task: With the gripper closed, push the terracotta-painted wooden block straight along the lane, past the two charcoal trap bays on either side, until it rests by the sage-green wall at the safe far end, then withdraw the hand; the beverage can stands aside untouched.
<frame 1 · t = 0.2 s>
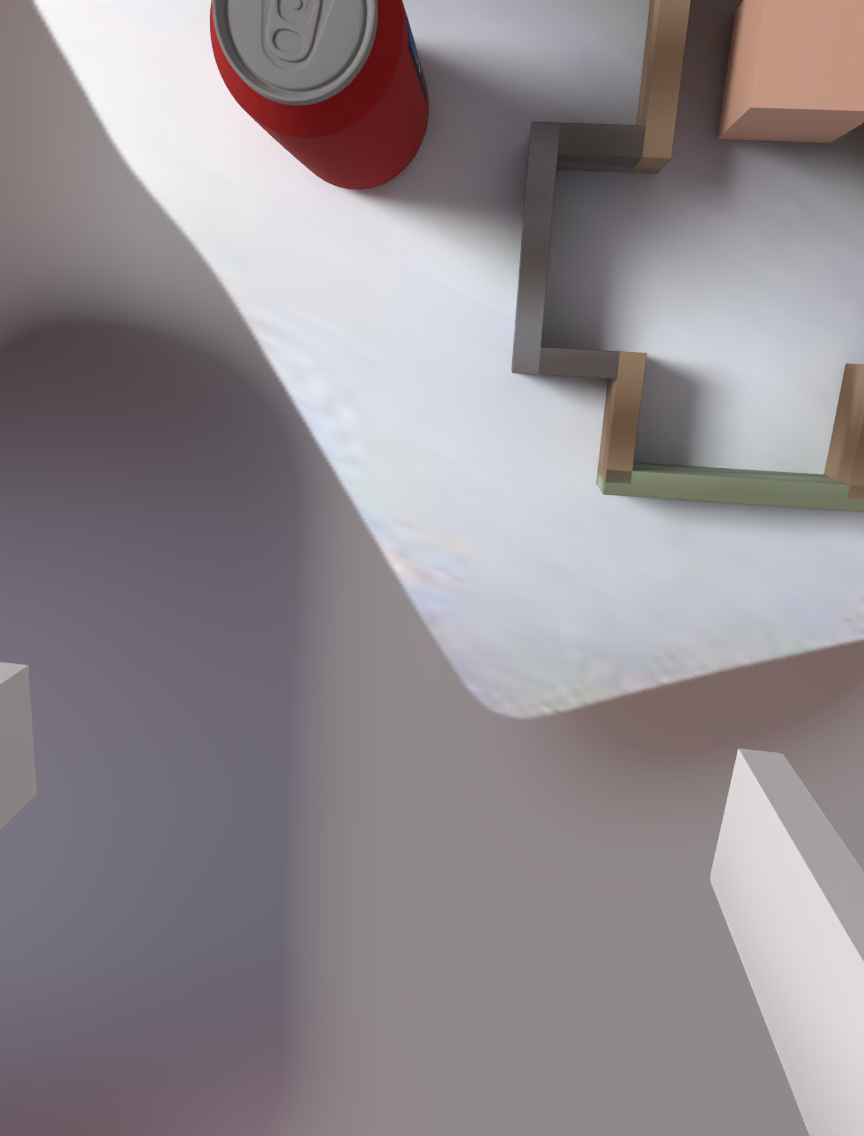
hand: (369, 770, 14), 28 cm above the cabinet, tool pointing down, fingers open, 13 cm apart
block: (782, 79, 34), on the cabinet
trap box: (757, 247, 36), on the cabinet
beverage can: (360, 115, 36), on the cabinet
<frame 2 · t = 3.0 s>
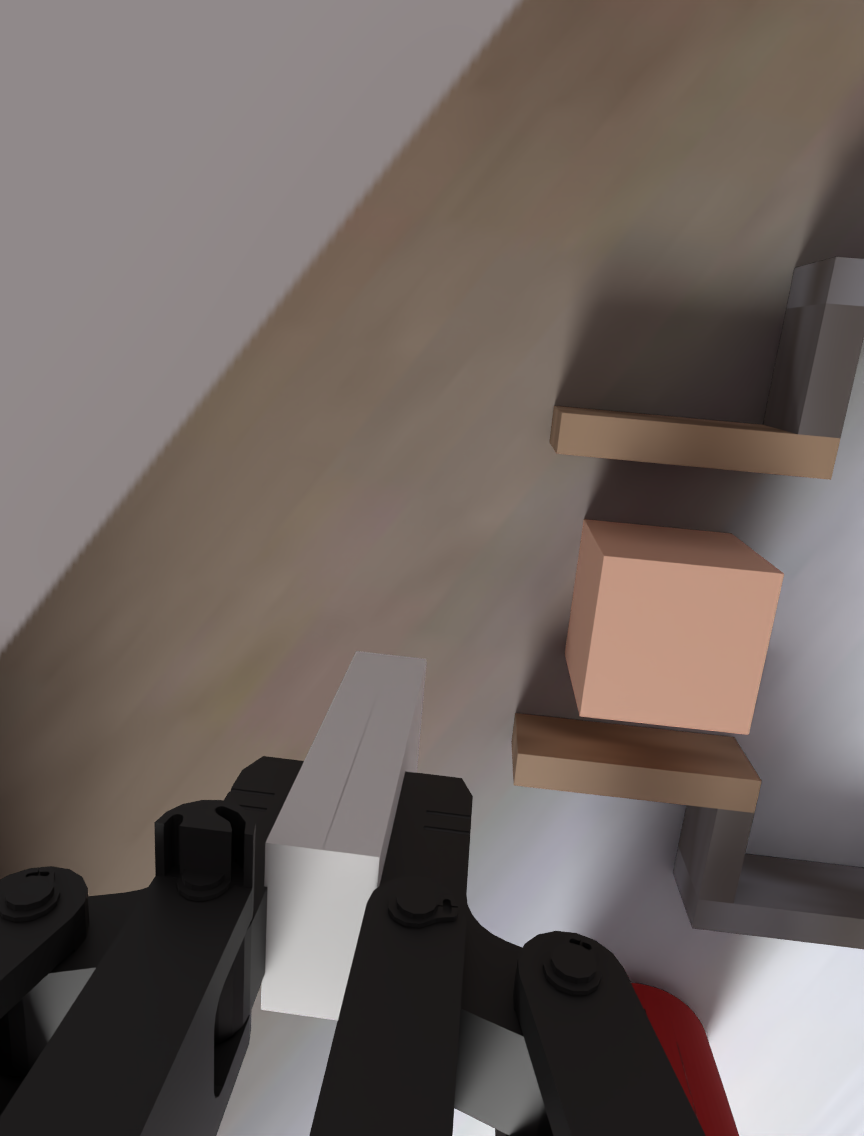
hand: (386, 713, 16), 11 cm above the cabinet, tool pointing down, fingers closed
block: (645, 594, 27), on the cabinet
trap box: (849, 617, 27), on the cabinet
beverage can: (619, 1028, 32), on the cabinet
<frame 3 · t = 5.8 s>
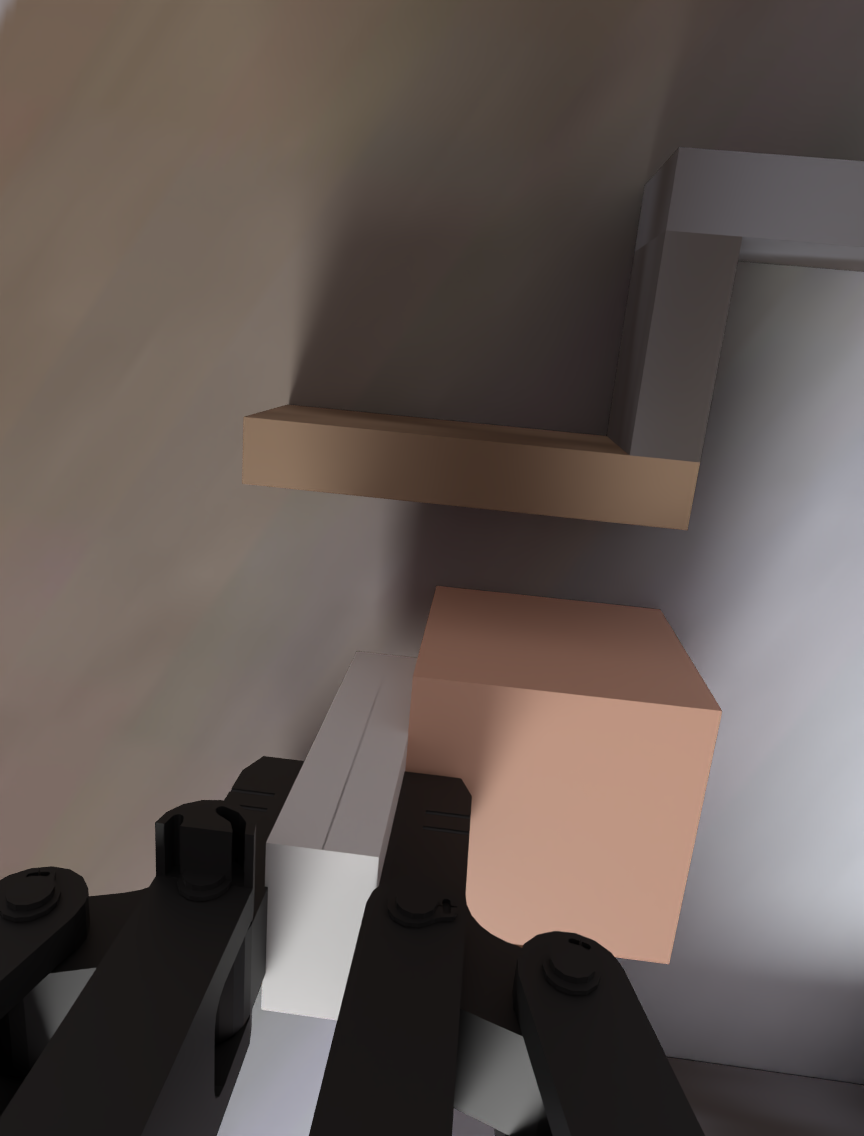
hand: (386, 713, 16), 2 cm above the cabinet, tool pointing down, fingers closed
block: (533, 698, 18), on the cabinet, touching gripper
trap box: (749, 725, 18), on the cabinet
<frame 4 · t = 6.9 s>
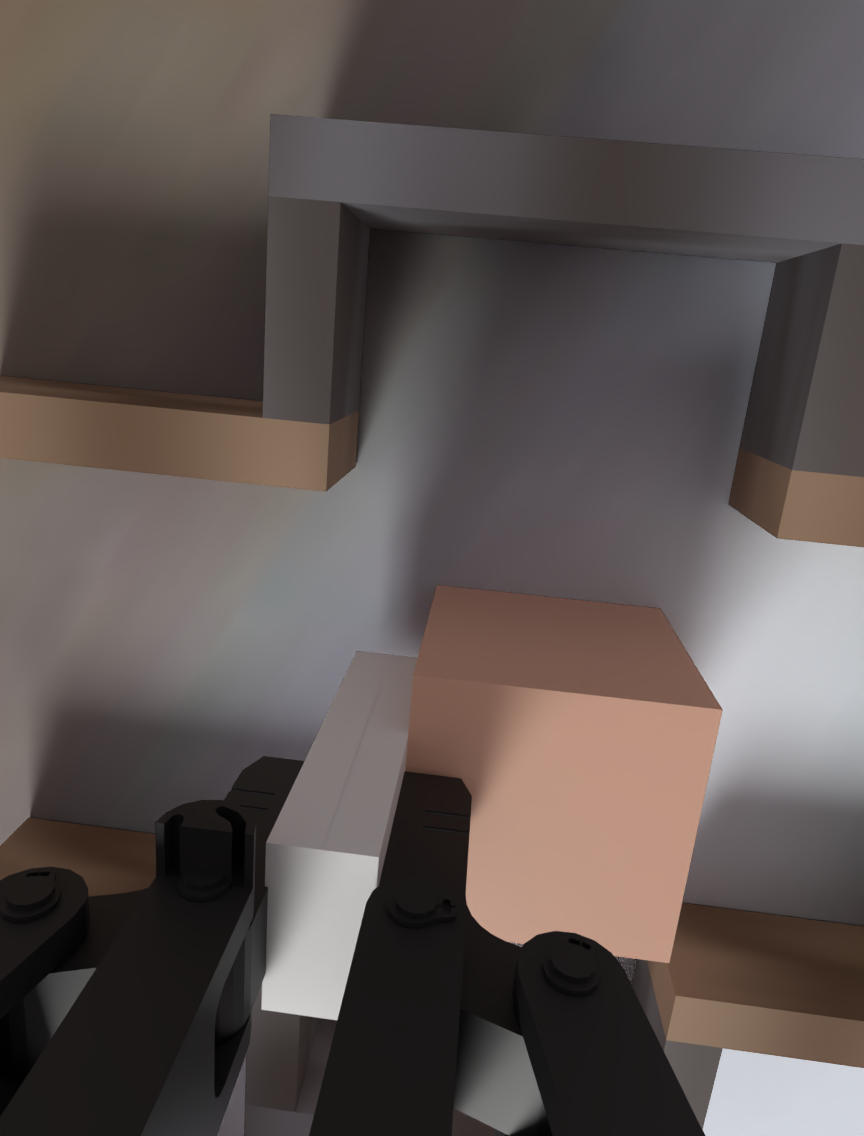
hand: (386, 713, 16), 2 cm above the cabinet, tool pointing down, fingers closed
block: (534, 698, 18), on the cabinet
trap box: (469, 691, 18), on the cabinet
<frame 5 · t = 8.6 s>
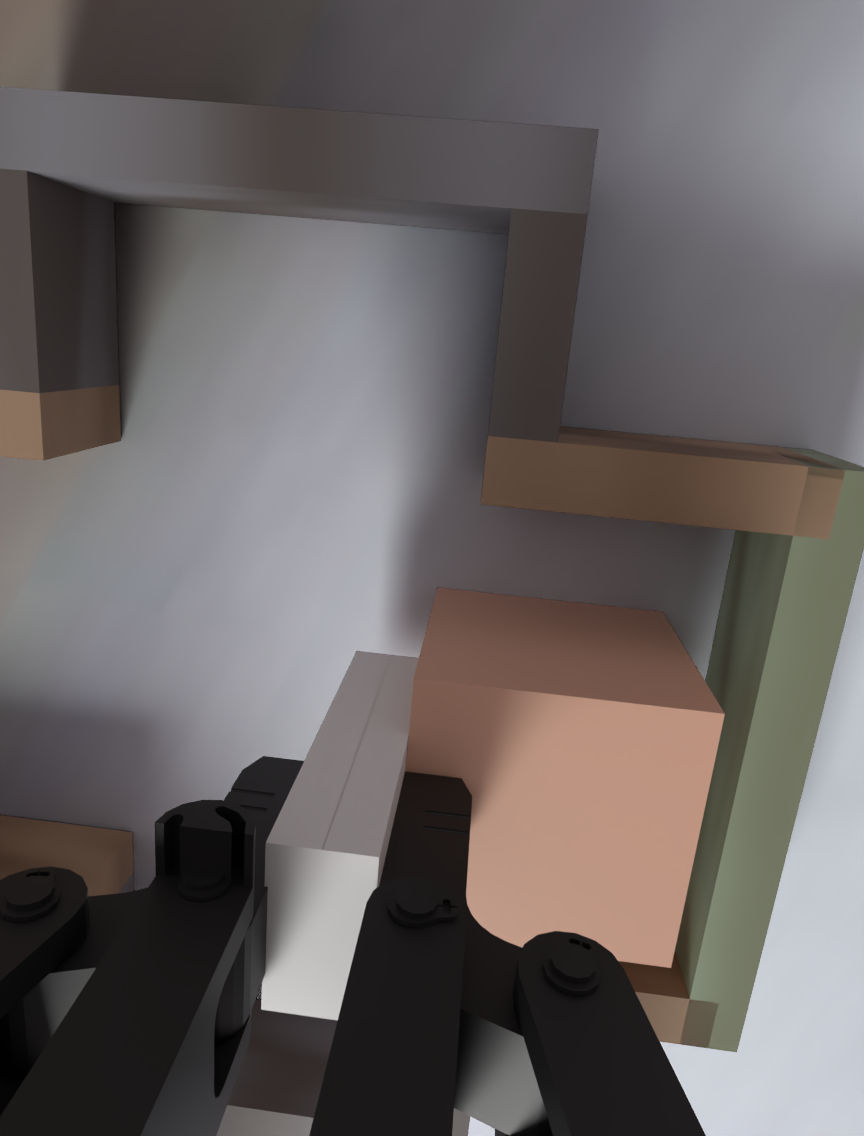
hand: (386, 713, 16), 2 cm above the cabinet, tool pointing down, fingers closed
block: (535, 700, 18), on the cabinet
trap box: (250, 665, 18), on the cabinet
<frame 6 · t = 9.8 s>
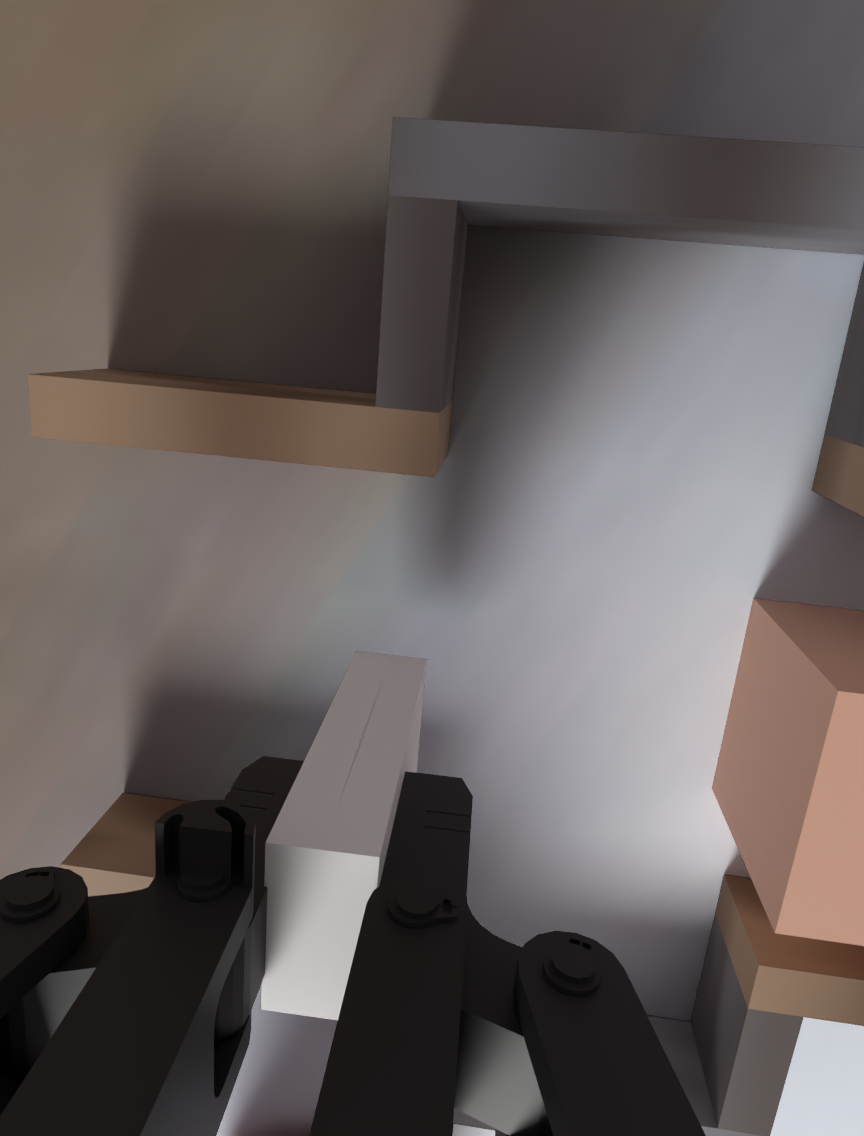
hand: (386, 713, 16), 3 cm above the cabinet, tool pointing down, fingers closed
block: (838, 708, 18), on the cabinet
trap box: (552, 672, 19), on the cabinet
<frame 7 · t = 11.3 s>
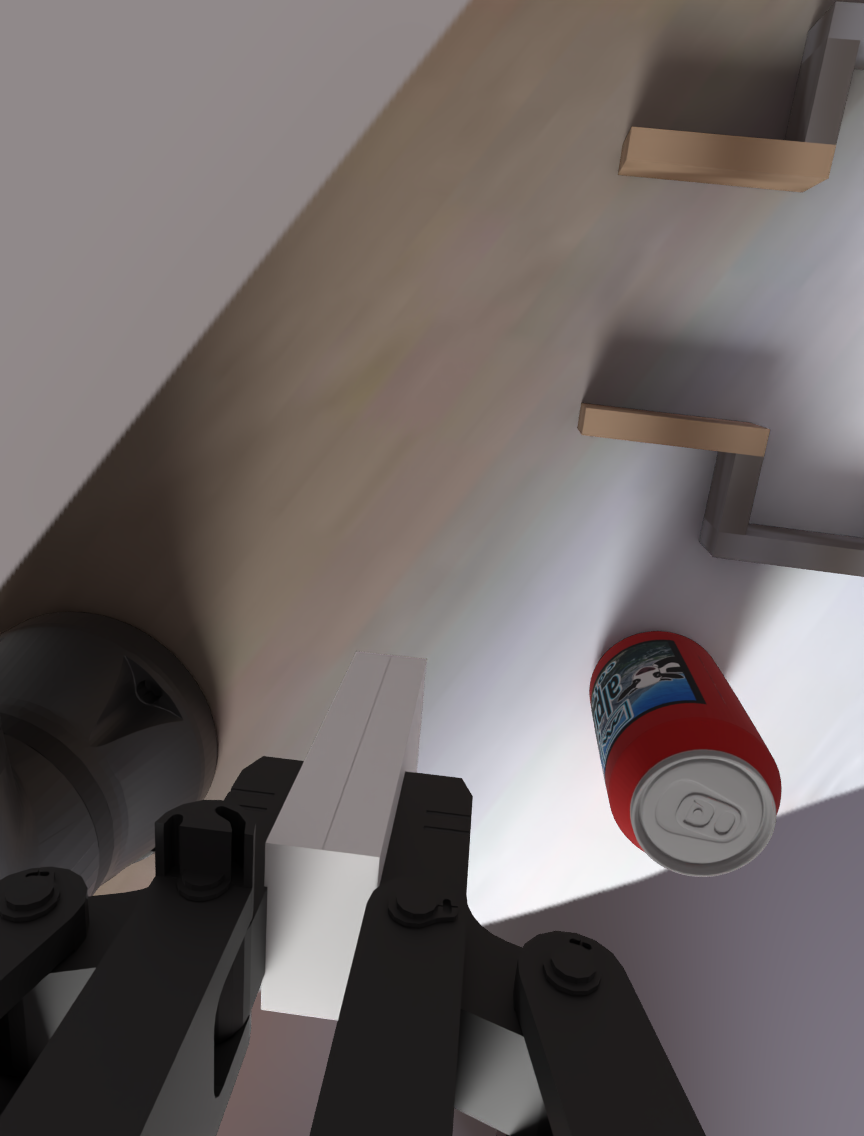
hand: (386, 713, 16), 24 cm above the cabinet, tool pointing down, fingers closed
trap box: (843, 319, 35), on the cabinet
beverage can: (651, 683, 41), on the cabinet
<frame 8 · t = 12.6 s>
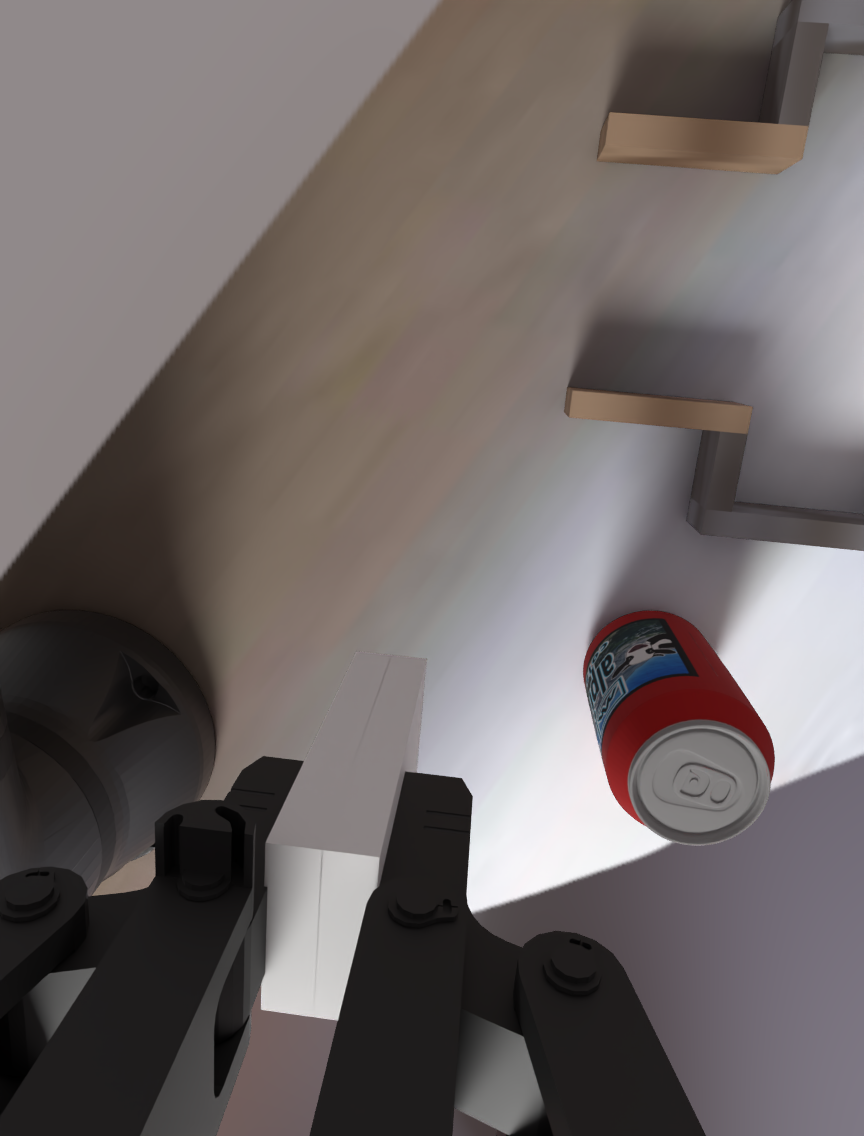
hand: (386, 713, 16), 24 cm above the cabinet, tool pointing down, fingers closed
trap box: (820, 298, 36), on the cabinet
beverage can: (644, 662, 42), on the cabinet
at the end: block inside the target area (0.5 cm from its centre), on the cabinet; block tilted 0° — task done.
